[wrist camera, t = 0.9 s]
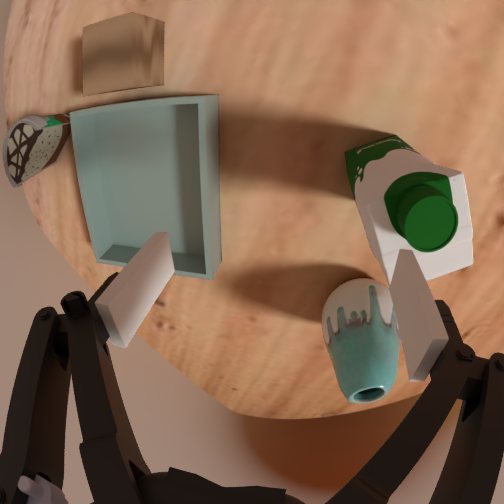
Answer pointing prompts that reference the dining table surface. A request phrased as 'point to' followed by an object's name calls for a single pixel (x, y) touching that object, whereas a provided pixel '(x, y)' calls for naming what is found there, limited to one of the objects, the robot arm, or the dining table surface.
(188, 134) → the tote
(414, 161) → the milk carton
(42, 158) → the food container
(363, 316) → the vase
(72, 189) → the dining table surface
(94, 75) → the walnut block
